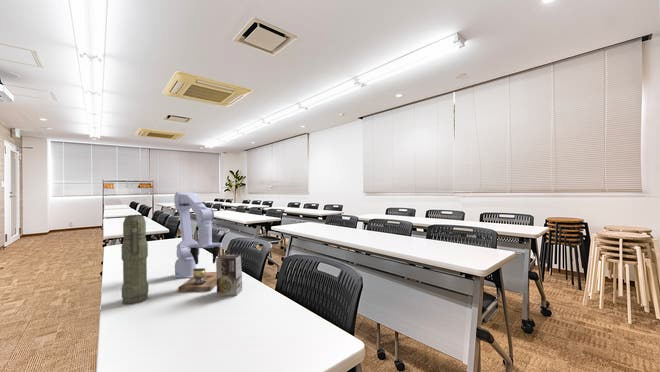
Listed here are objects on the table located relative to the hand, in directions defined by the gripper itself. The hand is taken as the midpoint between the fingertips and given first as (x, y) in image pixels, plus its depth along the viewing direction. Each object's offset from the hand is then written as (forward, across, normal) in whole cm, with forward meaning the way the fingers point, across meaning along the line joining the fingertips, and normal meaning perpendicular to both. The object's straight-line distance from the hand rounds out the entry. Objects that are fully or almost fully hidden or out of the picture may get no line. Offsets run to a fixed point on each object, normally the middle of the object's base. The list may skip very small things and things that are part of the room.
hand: (205, 263), depth 129 cm
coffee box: (+11, +13, -12) cm, 21 cm away
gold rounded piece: (+10, -2, -2) cm, 11 cm away
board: (+10, -2, +3) cm, 11 cm away
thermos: (+11, -24, -12) cm, 29 cm away
